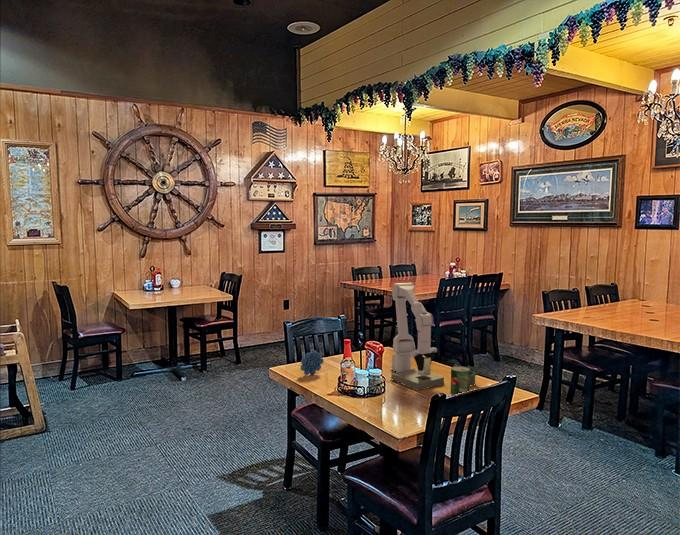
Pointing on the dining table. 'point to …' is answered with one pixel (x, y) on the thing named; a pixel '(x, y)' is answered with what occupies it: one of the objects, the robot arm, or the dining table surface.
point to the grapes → (311, 362)
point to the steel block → (425, 367)
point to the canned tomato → (459, 379)
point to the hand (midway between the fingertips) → (423, 369)
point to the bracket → (472, 375)
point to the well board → (417, 379)
